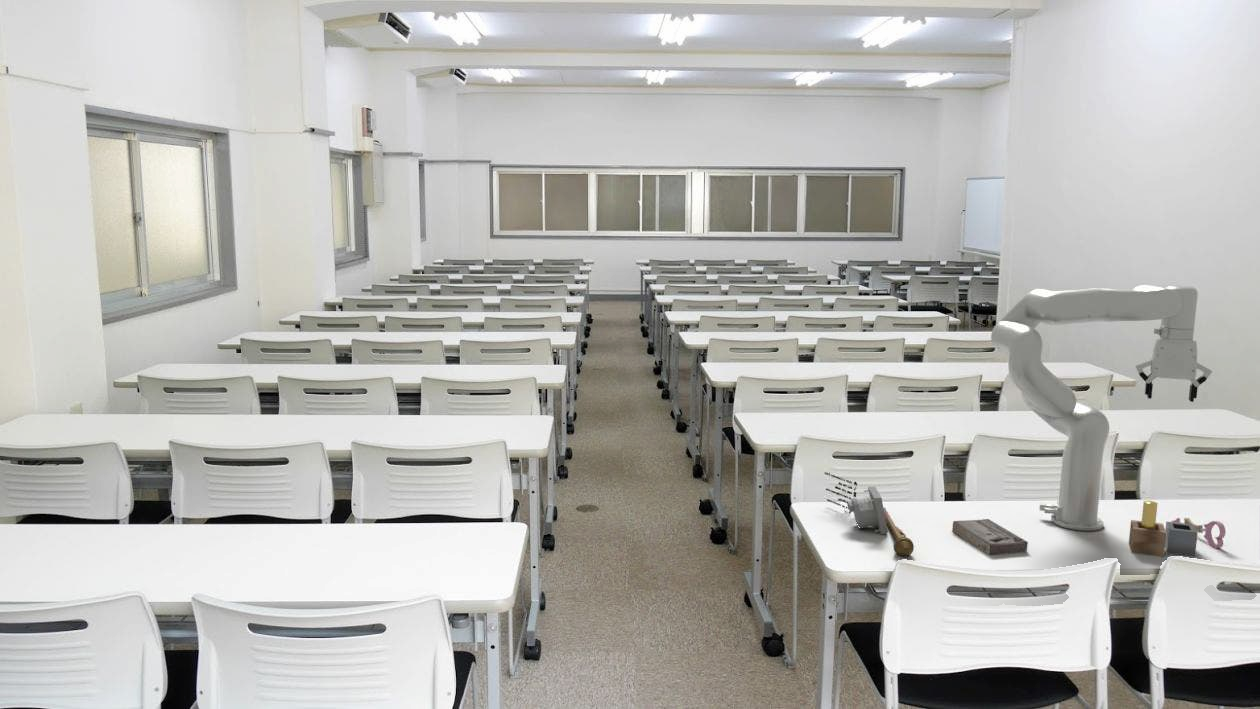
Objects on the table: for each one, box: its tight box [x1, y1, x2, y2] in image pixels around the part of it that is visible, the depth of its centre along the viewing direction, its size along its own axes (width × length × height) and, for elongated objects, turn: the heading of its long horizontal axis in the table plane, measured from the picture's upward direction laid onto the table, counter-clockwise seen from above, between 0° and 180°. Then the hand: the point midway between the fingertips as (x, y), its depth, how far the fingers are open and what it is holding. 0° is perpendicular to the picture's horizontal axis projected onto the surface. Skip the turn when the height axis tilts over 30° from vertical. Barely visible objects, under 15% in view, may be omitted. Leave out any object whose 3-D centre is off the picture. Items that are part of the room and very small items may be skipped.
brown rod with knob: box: [883, 506, 915, 557], centre depth 249 cm, size 5×35×5 cm
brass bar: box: [1141, 500, 1158, 530], centre depth 239 cm, size 3×3×12 cm
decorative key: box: [1171, 517, 1226, 549], centre depth 249 cm, size 7×1×20 cm
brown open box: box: [1128, 519, 1166, 557], centre depth 239 cm, size 7×7×6 cm
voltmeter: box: [824, 471, 889, 536], centre depth 259 cm, size 27×11×10 cm, turn 31°
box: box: [951, 518, 1029, 556], centre depth 245 cm, size 11×17×3 cm, turn 13°
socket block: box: [1165, 521, 1199, 557], centre depth 239 cm, size 6×6×6 cm
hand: (1169, 399), depth 254 cm, fingers open, 9 cm apart
